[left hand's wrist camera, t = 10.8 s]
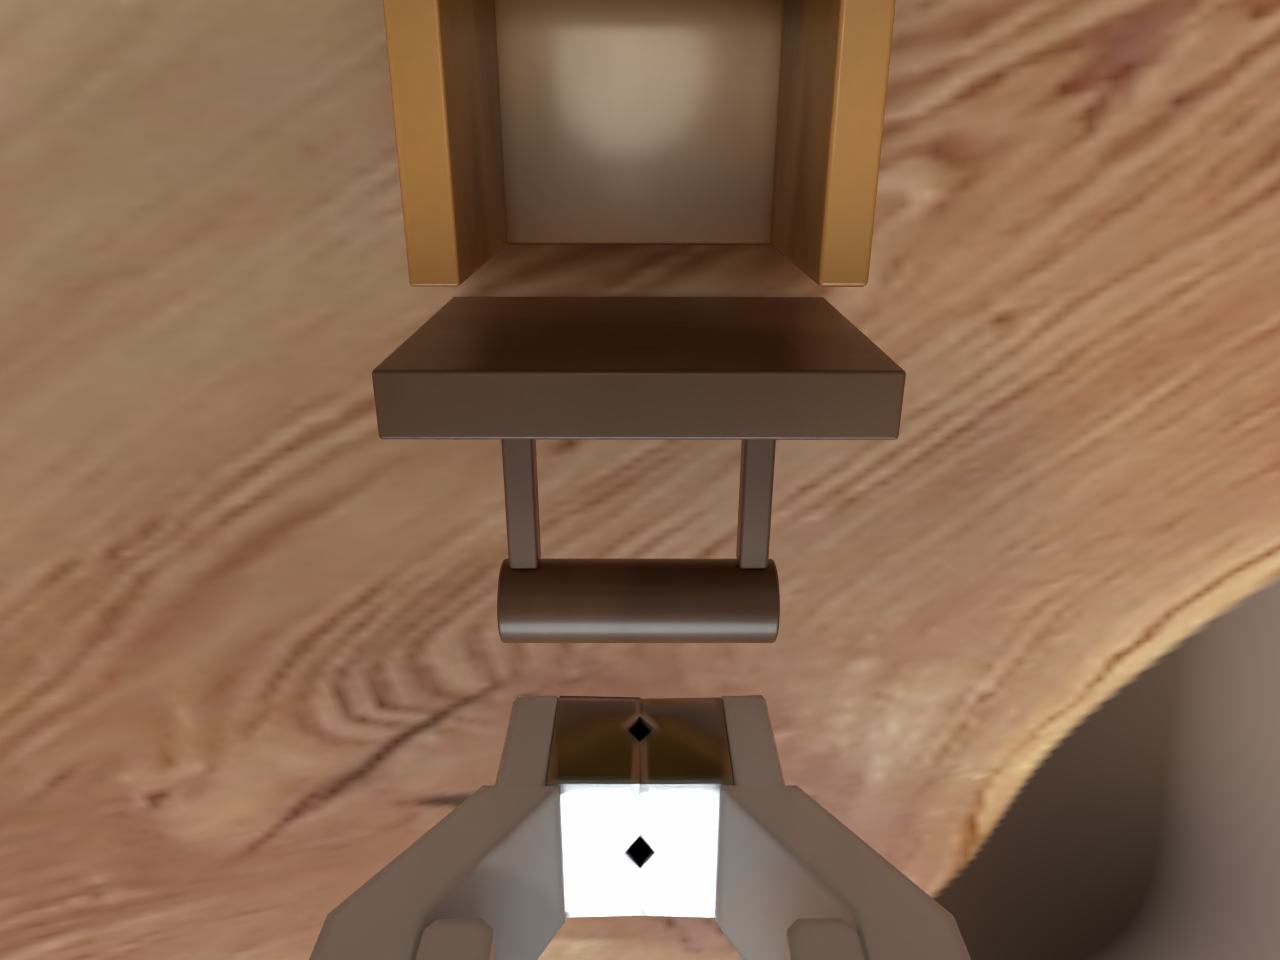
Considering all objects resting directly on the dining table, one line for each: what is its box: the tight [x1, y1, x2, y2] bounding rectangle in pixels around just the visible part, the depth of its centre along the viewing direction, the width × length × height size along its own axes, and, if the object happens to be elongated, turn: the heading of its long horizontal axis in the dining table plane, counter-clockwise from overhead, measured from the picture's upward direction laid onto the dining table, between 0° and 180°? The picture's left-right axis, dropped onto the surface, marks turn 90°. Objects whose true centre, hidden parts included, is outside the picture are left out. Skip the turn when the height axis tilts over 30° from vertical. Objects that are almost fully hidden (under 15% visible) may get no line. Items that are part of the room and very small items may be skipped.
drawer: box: [372, 0, 906, 643], centre depth 16 cm, size 21×9×7 cm, turn 0°
